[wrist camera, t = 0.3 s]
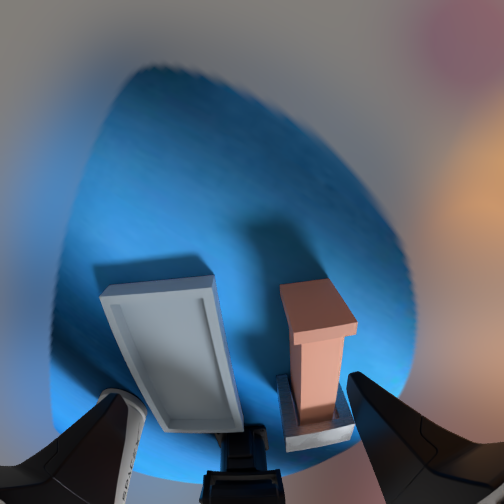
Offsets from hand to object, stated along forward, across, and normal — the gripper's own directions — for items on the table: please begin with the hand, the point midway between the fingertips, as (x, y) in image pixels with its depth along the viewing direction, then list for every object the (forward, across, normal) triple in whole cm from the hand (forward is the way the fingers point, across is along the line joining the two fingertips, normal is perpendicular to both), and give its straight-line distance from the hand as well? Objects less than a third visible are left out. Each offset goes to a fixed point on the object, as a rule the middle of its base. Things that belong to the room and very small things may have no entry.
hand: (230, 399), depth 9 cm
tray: (+14, +7, +10) cm, 18 cm away
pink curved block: (+14, -5, +10) cm, 18 cm away
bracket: (+14, -5, +14) cm, 20 cm away
